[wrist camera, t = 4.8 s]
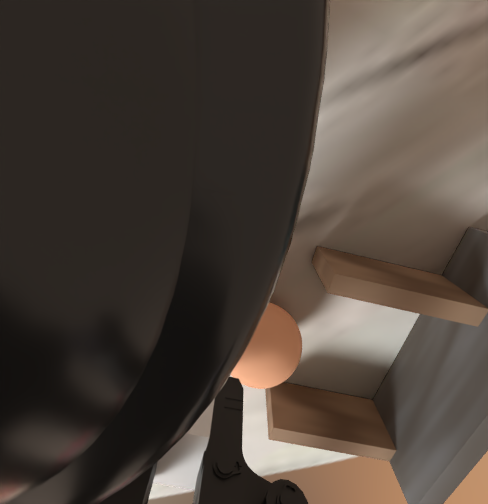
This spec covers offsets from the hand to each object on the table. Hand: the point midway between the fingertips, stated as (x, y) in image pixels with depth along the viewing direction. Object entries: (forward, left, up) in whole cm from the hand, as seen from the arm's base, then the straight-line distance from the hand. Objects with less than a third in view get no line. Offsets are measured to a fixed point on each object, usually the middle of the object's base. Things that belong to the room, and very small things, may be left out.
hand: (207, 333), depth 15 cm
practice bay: (+9, +1, -2) cm, 10 cm away
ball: (+3, 0, 0) cm, 3 cm away
